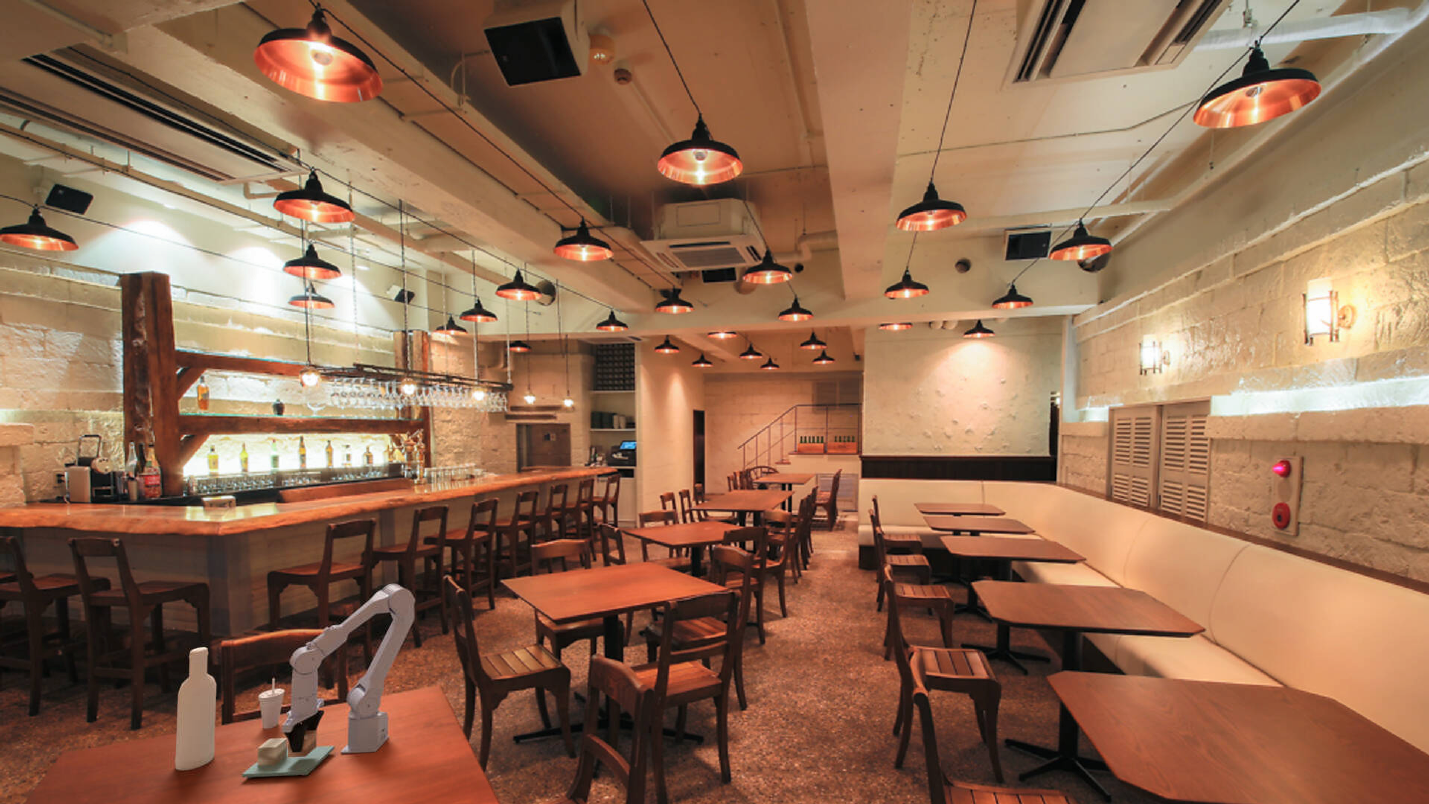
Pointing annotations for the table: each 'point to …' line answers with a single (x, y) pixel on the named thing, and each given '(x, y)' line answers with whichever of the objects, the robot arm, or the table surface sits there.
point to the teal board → (291, 764)
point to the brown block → (305, 745)
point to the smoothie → (271, 706)
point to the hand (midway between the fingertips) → (303, 746)
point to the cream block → (272, 751)
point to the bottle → (196, 715)
